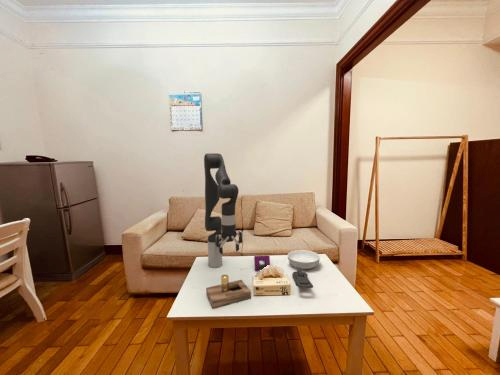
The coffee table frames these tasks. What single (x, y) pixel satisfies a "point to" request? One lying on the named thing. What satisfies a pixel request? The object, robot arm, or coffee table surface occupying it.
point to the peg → (224, 282)
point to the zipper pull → (301, 279)
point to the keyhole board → (228, 294)
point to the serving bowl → (303, 258)
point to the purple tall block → (257, 258)
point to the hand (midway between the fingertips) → (229, 252)
